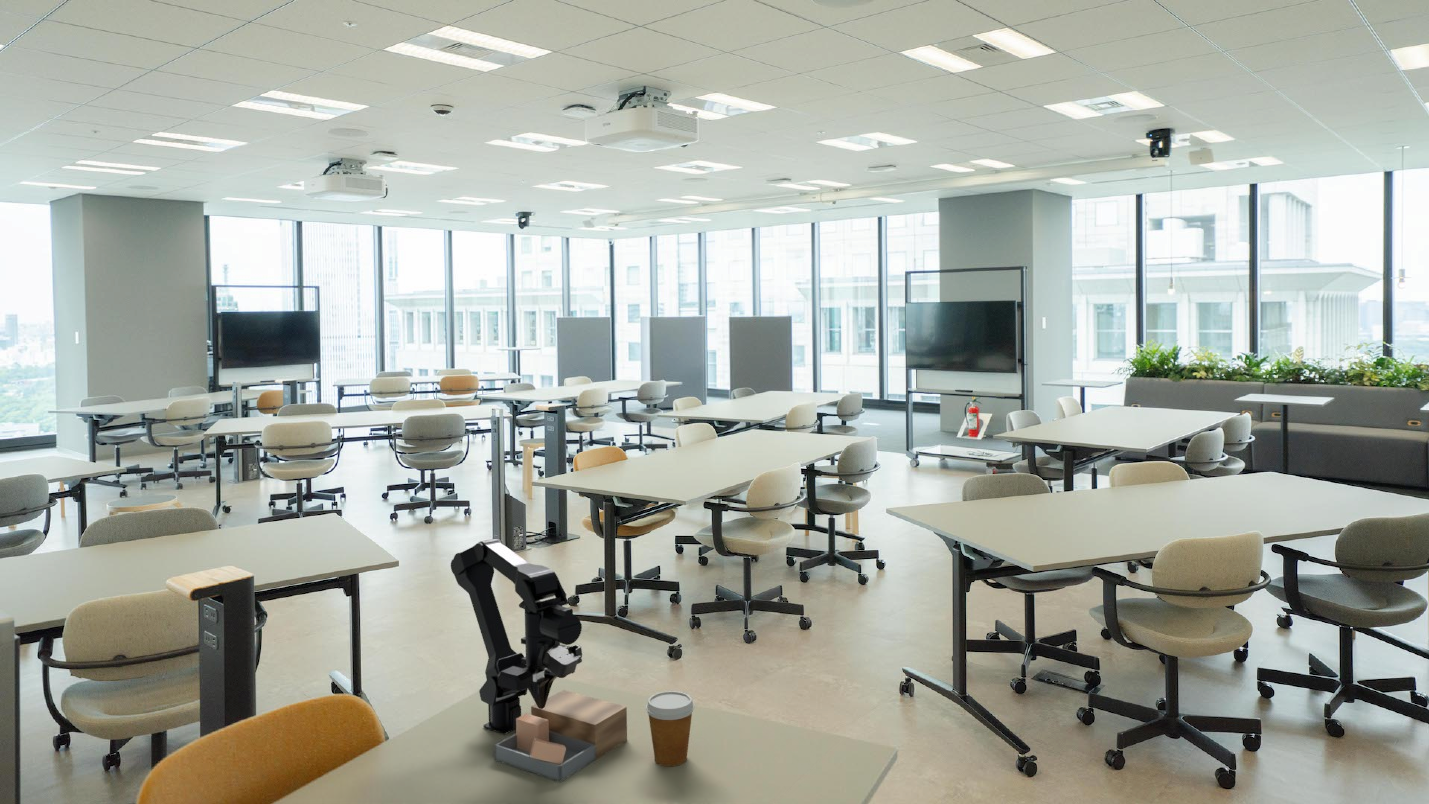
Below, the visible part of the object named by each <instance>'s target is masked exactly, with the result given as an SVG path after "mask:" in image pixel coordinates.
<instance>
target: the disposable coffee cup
mask: <svg viewBox="0 0 1429 804" xmlns="http://www.w3.org/2000/svg"><path fill="white" fill-rule="evenodd" d="M694 709H695V702H694V701H693V698H692V697H691V695H690V694H688V693H685V692H682V691H678V690H677V691H672V690H671V691H669V690H668V691H661V692H660V691H659V692H657V693H654V694H652V695H651V696H650V697H648V699H647V703H646V706H645V710H646V711H647V715H648V722H649V727H650V735H651V742H652V747H653V748H652V749H653V755H654V761H655V763H656V764H658V765H660V766H664V767H677V766H680V765H682V764H684V763H686V762H687V758H688V750H689V743H690V741H689V740H690V731H691V724H692V717H693V716H692V715H693V712H694Z"/></svg>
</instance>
